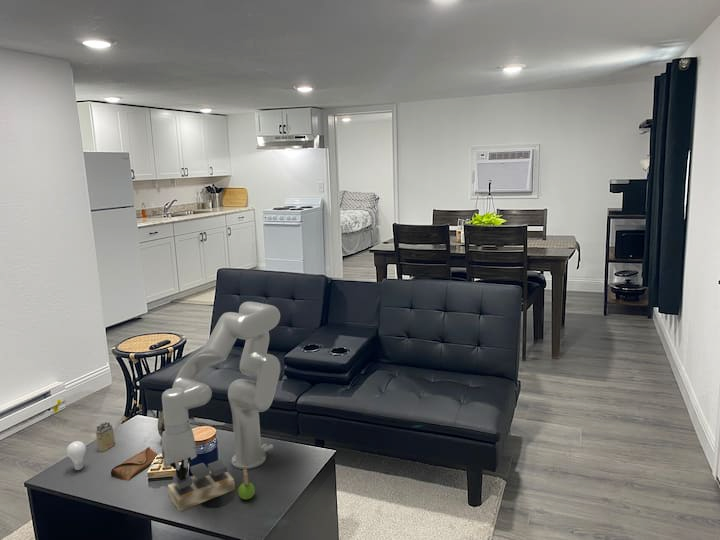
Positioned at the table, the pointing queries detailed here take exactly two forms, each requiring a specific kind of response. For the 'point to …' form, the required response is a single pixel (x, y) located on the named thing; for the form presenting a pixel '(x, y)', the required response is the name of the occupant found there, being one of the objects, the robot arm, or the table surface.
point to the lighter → (105, 436)
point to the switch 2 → (217, 468)
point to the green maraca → (246, 487)
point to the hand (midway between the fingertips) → (181, 478)
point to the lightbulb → (76, 453)
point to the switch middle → (200, 470)
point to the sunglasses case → (134, 465)
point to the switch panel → (201, 490)
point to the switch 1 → (182, 483)
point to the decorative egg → (161, 424)
